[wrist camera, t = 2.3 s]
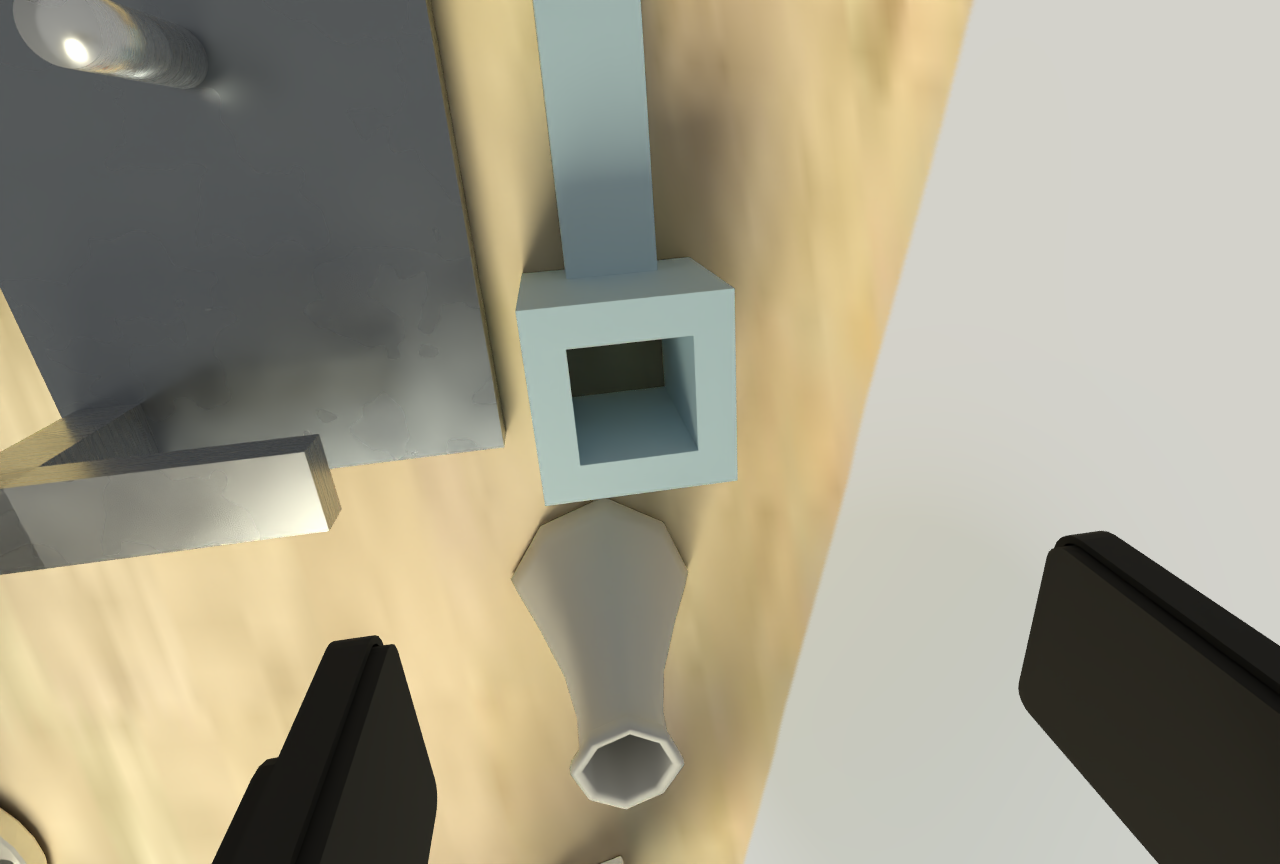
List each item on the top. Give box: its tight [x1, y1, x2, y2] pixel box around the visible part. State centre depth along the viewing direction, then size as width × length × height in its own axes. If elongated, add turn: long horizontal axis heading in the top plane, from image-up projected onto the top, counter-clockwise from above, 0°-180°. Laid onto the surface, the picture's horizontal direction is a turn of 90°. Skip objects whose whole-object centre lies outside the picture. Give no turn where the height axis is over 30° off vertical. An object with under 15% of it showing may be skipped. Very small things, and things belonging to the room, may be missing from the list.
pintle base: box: [0, 0, 506, 575], centre depth 17 cm, size 14×18×7 cm
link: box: [515, 0, 737, 506], centre depth 19 cm, size 17×6×6 cm, turn 4°
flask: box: [511, 498, 688, 809], centre depth 24 cm, size 7×7×10 cm
